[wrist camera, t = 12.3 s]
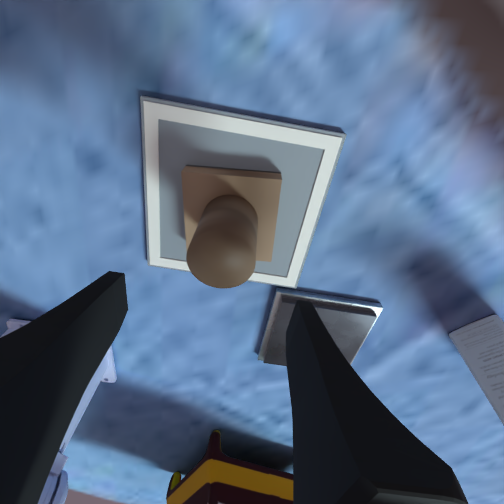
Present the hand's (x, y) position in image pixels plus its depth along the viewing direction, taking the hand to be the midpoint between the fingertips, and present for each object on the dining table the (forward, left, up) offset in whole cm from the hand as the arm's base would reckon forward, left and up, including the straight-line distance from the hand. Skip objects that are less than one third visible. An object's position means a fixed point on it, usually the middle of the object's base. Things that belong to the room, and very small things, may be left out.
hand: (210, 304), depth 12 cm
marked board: (0, 0, -10) cm, 10 cm away
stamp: (0, 0, -9) cm, 9 cm away
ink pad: (+9, -11, -10) cm, 17 cm away
